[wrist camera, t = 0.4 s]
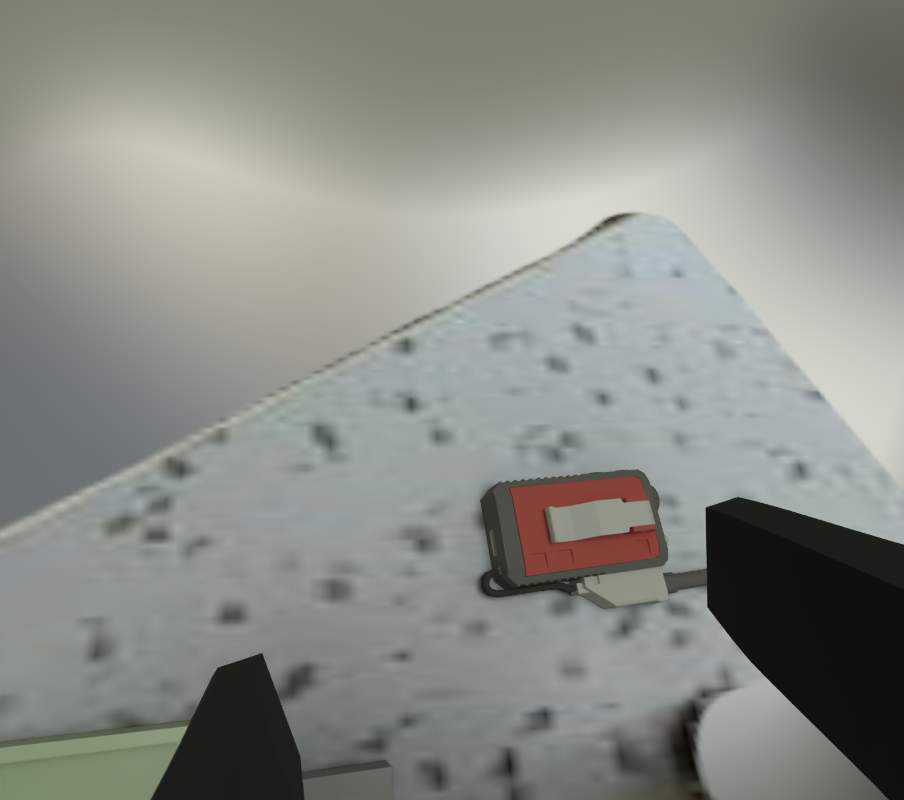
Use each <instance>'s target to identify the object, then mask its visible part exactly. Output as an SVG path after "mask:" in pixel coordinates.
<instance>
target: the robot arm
mask: <svg viewBox="0 0 904 800" xmlns="http://www.w3.org/2000/svg"><path fill="white" fill-rule="evenodd" d="M706 553H707V607H708V608H709V610H710V611H711V612H712V614H713V615H714V616H715V618H716V619H717V620H718V621H719V623H720V624H721V625H722V627H723V628H724V629H725V631H726V632H727V633H728V635H729V636H730V637H731V638H732V640H733V641H734V642H735V643H736V644H737V646H738V647H739V648H740V649H741V651H742V652H743V653H744V654H745V655H746V657H747V658H748V659H749V660H750V661H751V662H752V663H753V664H754V665H755V666H756V668H757V669H758V670H759V671H760V672H761V673H762V674H763V675H764V676H765V677H766V678H767V679H768V680H769V681H770V682H771V683H772V684H773V685H774V686H775V687H776V688H777V689H778V690H779V691H780V692H781V693H782V694H783V695H784V696H785V697H786V698H787V699H788V700H789V701H790V702H791V703H792V704H793V705H794V706H795V707H796V708H797V709H798V710H799V711H800V712H801V713H802V714H803V715H804V716H805V717H806V718H807V719H808V720H810V722H811V723H813V724H814V725H815V726H816V727H817V728H818V729H819V730H820V731H821V732H822V733H823V734H824V735H825V736H826V737H827V738H828V739H829V740H830V741H831V742H832V743H833V744H834V745H835V746H836V747H837V748H838V749H839V750H840V751H841V752H842V753H843V754H844V755H845V756H846V757H847V758H848V759H849V760H850V761H851V762H852V763H853V764H854V765H855V766H856V767H857V768H858V769H859V770H860V771H861V772H862V773H863V774H864V775H865V776H866V777H867V778H868V779H869V780H871V782H872V783H873V784H874V785H875V786H876V787H877V788H878V789H879V790H880V791H881V792H882V793H883V794H884V795H885V796H886V797H887V798H888V799H889V800H904V545H903V544H899V543H896V542H892V541H889V540H886V539H882V538H879V537H875V536H872V535H869V534H865V533H862V532H859V531H855V530H852V529H849V528H845V527H842V526H839V525H835V524H832V523H829V522H825V521H822V520H819V519H816V518H812V517H809V516H806V515H802V514H799V513H796V512H792V511H789V510H785V509H782V508H778V507H775V506H771V505H768V504H764V503H760V502H756V501H752V500H748V499H744V498H739V497H736V498H733V499H730V500H727V501H724V502H721V503H718V504H715V505H712V506H709V507H706ZM150 800H305V798H304V788H303V779H302V769H301V760H300V754H299V752H298V749H297V746H296V744H295V741H294V738H293V735H292V733H291V730H290V727H289V725H288V722H287V719H286V717H285V714H284V711H283V708H282V706H281V703H280V700H279V698H278V695H277V692H276V689H275V687H274V684H273V681H272V679H271V676H270V673H269V671H268V668H267V665H266V662H265V660H264V657H263V654H262V653H261V654H258V655H255V656H252V657H249V658H246V659H243V660H240V661H237V662H234V663H231V664H228V665H225V666H222V667H219V668H217V670H216V672H215V673H214V675H213V676H212V678H211V680H210V682H209V684H208V686H207V688H206V690H205V692H204V695H203V697H202V699H201V701H200V703H199V705H198V707H197V709H196V711H195V713H194V715H193V717H192V719H191V721H190V723H189V725H188V727H187V730H186V732H185V734H184V736H183V738H182V740H181V742H180V744H179V746H178V748H177V750H176V752H175V754H174V755H173V757H172V759H171V761H170V763H169V765H168V767H167V769H166V771H165V773H164V775H163V777H162V779H161V781H160V782H159V784H158V786H157V788H156V790H155V792H154V794H153V796H152V798H151V799H150Z"/></svg>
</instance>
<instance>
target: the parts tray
mask: <svg viewBox="0 0 904 800" xmlns="http://www.w3.org/2000/svg"><path fill="white" fill-rule="evenodd" d="M190 721H191V720H189V721H180V722H171V723H163V724H154V725H145V726H136V727H128V728H119V729H110V730H101V731H92V732H84V733H75V734H66V735H57V736H49V737H40V738H31V739H22V740H14V741H5V742H0V800H150V799H151V798H152V796H153V794H154V792H155V790H156V788H157V786H158V784H159V782H160V781H161V779H162V777H163V775H164V773H165V771H166V769H167V767H168V765H169V763H170V761H171V759H172V757H173V755H174V754H175V752H176V750H177V748H178V746H179V744H180V742H181V740H182V738H183V736H184V734H185V732H186V730H187V727H188V725H189V723H190Z"/></svg>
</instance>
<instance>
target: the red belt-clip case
mask: <svg viewBox="0 0 904 800" xmlns="http://www.w3.org/2000/svg"><path fill="white" fill-rule="evenodd" d="M480 501H481V507H482V512H483V518H484V524H485V530H486V536H487V542H488V548H489V554H490V560H491V566H492V570H490V571H488V572H486V573H485V574H484V575H483V577H482V584H481V587H482V589H483V591H484V592H485V593H486V594H487V595H488V596H492V597H504V596H511V595H517V594H524V593H530V592H537V591H544V590H553V589H559V590H562V591H564V592H570V593H571V596H572V595H578V594H579V595H581V596H583V597H584V598H586V599H587V600H589V601H591V602H592V603H594V604H596V605H597V606H599V607H601V608H603V609H606V608H614V607H620V606H627V605H633V604H639V603H644V604H654V603H661V602H666V601H669V595H668V594H670V593H675V592H677V591H678V590H681V589H687V588H693V587H699V586H705V585H707V569H705V570H698V571H692V572H685V573H679V574H673V573H672V572H670V573H663V572H662V568H661V566H663V565H664V564H665V563H666V562H667V560H668V548H667V545H668V540H667V537H666V536H665V535H664V533H663V529H662V526H661V522H660V518H659V515H658V508H659V495H658V493H657V491H656V489H655V488H654V487H653V486H650V482H649V480H648V478H647V477H646V475H645V473H643V472H641V471H640V470H638V469H637V470H618V471H614V472H603V473H602V472H595V473H589V474H582V475H580V476H577V475H574V476H572V477H570V475H569V476H566V477H563V476H560V477H558V478H555V477H552V478H549V479H548V478H547V477H546V478H544V479H540V478H537V479H536V480H533V479H529V480H527V481H525V480H524V479H523V480H521V481H517V480H514V481H513V482H509V481H506V482H504V483H502V482H501V481H500V482H499V483H497V484H496V485H495V486H493V487H492V488H491V489H489V490H488V491H487V493H486V494H485V495H484V496H483V498H482V499H481V500H480ZM491 577H494V582H496V583H497V584H498V585H500V586H501V587H502V588H503V589H505V590H494V589H492V588H491V587H490V585H489V580H490V578H491ZM570 580H571V581H570ZM563 581H570V582H571V585H567V584H564V583H556V582H563Z"/></svg>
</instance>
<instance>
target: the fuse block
mask: <svg viewBox="0 0 904 800" xmlns="http://www.w3.org/2000/svg"><path fill="white" fill-rule="evenodd" d="M302 779H303V788H304V798H305V800H394V797H393V771H392V766H391V765H390V764H389V763H388V762H387V761H386V760H384V761H377V762H370V763H363V764H356V765H349V766H342V767H335V768H328V769H321V770H315V771H308V772H302Z"/></svg>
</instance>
